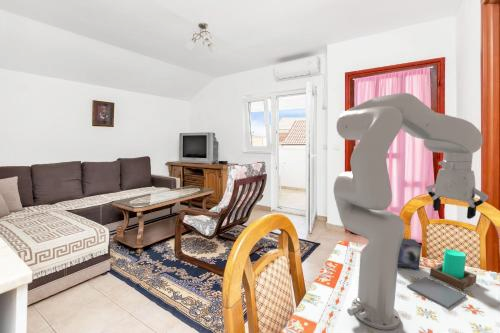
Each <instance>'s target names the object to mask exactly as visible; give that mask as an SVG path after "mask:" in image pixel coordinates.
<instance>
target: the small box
mask: <svg viewBox="0 0 500 333" xmlns="http://www.w3.org/2000/svg"><path fill="white" fill-rule="evenodd" d="M421 251H422V245H421V244H420V243H419V242H418V241H417V240H416V239H412V238H404V237H403V240H402V243H401V246H400V250H399V256H398V266H397V269H405V270H406V269H407V270H411V271H412V270H414V271H419V269H420V261H421V253H422V252H421Z"/></svg>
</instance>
